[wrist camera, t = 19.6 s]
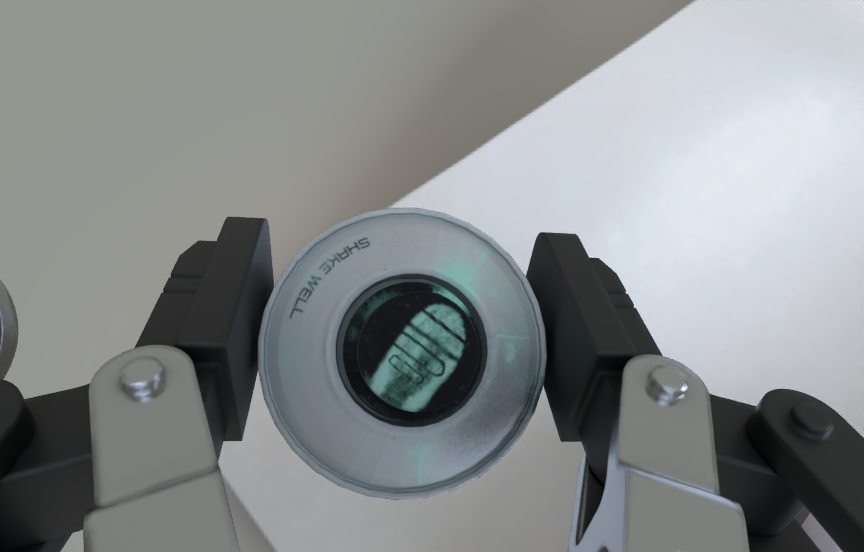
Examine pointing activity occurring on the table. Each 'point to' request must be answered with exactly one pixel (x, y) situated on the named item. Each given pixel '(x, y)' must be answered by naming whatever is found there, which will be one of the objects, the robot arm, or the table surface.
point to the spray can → (402, 353)
